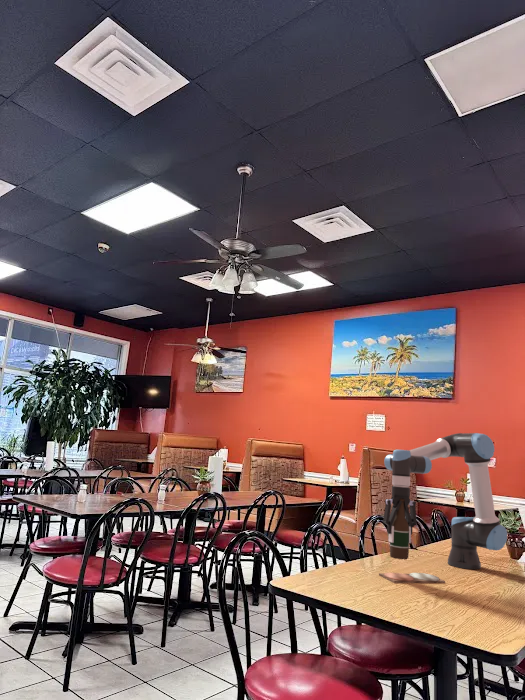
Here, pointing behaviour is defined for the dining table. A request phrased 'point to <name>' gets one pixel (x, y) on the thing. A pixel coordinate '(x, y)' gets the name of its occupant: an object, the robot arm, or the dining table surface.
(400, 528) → the beer bottle
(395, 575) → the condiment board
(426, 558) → the dining table surface
